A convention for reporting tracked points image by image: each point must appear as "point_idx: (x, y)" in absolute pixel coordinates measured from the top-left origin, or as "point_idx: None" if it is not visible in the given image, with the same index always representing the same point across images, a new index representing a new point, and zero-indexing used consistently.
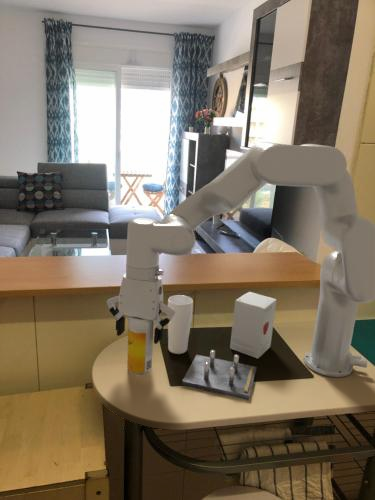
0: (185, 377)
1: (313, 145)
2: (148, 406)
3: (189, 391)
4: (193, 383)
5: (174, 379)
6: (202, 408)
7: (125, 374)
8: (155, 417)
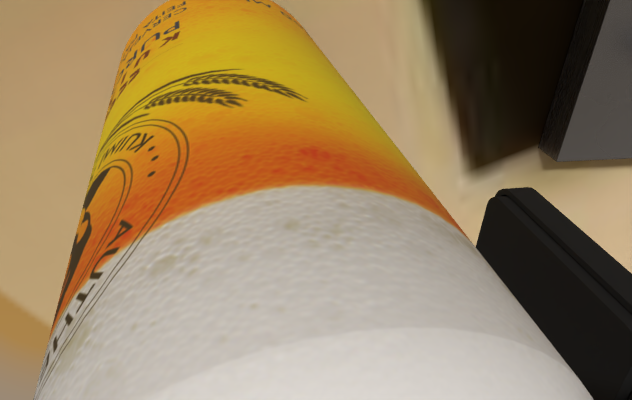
0: (577, 117)
1: None
2: None
3: (575, 180)
4: (619, 158)
5: (490, 105)
6: (623, 266)
7: None
8: None
